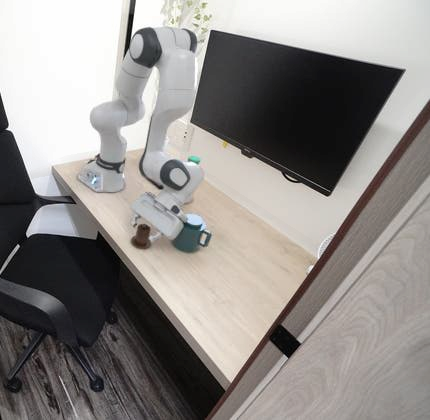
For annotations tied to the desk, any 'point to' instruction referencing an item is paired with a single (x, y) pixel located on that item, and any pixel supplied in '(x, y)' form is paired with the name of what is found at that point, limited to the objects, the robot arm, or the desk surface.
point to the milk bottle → (197, 161)
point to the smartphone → (157, 184)
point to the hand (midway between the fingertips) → (141, 233)
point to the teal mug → (192, 234)
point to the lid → (141, 237)
